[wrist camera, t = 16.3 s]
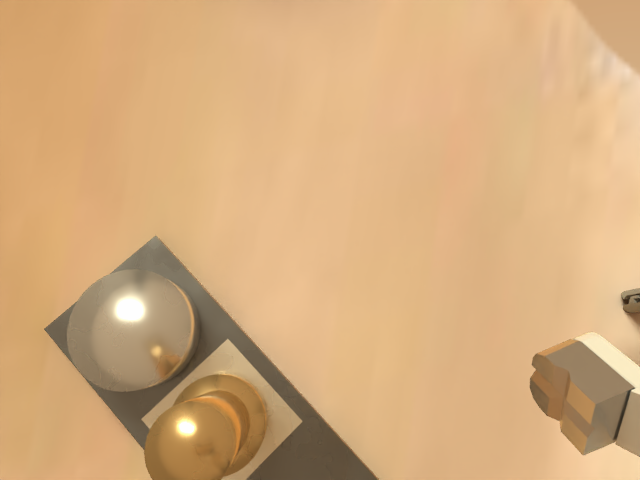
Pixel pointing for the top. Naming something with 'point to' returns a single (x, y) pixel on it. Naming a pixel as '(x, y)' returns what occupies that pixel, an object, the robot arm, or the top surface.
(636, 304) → the mechanical component
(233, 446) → the gold pawn piece
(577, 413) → the robot arm
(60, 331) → the carrier plate
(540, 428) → the top surface
